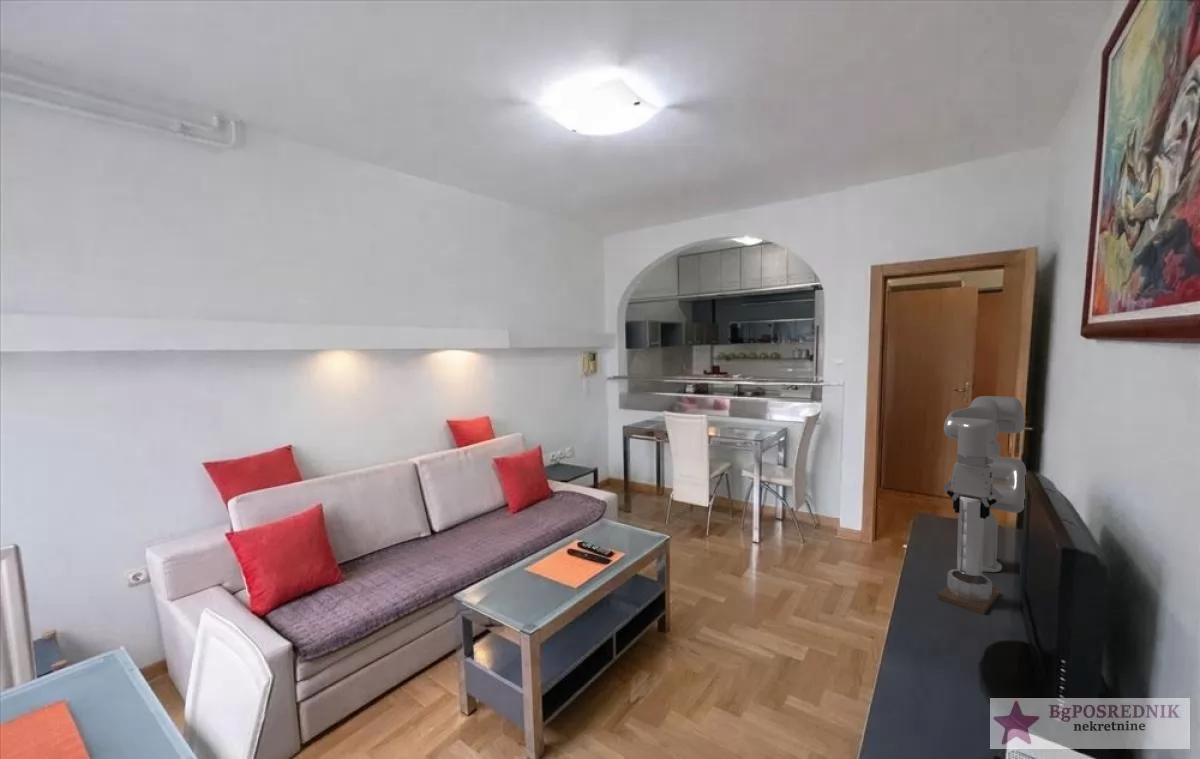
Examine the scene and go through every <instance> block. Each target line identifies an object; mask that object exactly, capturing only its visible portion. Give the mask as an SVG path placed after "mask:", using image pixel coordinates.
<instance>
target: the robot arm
mask: <svg viewBox="0 0 1200 759" xmlns="http://www.w3.org/2000/svg"><path fill="white" fill-rule="evenodd" d="M1025 424H1026V420H1025V410H1024V405H1023V403H1022V402H1021V401H1020V400H1019V399H1018V398H1017V397H1014V396H1013V397H1012V396H1000V395H999V396H994V395H993V396H992V395H983V396H977V397H975V398H974V399H973V400H972V401H971V403H970V404H969V407H964V408H961V409H955V410H953V411H951V412H950V413H949V414H948V415H947V417H946V419H945V421H944V424H943V433H944V434H945V436H946V437H947V438H948V439H952V440H957V461H955V463H954V465H953V469H952V475H951V480H950V481H948V482H946V483H945V484H943V485H942V486H941V488H942V490H944V491H945V492H946V493H947V494H946V495H948V496H949V497H950V498H951V500H952V503H953V504H952V509H953V510H954V513H955V514H958V503H959V497H960V495H969V496H975V497H980V498H981V499H982V501H983V503H984V506H982V518H983V519H984V531H983V568H982V572H986V573H997V572H1001V571H1002V570H1003V566H1002V565H1003V564H1001V563H1000V562H998V561H997V560H998V557H997V556H998V555H997V553H998V520H997V517H996V516H995V515H994V513H993V512H992V510H996V511H1002V512H1008V513H1016V514H1019V513H1021V512H1023V511H1024V508H1025V506H1024V499H1025V500H1026V493H1025V475H1026V476H1027V468H1026V465H1025V463H1024V462H1023V460H1021V459H1018V458H1016V457H1006V456H1001V451H1002V450H1001V449H1002V445H1001V444H1000V443H999V441H998V440H997V439H998V437H999V435H1000V433H1002V434H1005V433H1006V434H1020V433H1021V432H1022V431H1023V430H1024V428H1025ZM950 487H951V488H950Z"/></svg>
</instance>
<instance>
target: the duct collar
mask: <svg viewBox="0 0 1200 759" xmlns="http://www.w3.org/2000/svg"><path fill="white" fill-rule="evenodd" d="M1000 595H1001V589H998V588H996V587H993V582H992V580H991V579H990V578H989V577H988V576H986V575H984V574H982V575H981V576H971V575H967V574H964V573H962V572H960V571H958V570H957V568H953V569H950V570H949V571H948V572H947V584H946V585H945V586H944V587H943V588H942V589H941V590H940V591H939V592H938V593H937V599H939V600H941V601H944V602H947V603H950V604H953V605H956V606H958V607H962V608H963V609H968V610H970V611H973V612H976V613H979V614H982V615H985V614H986V613H987V611H988V610H989V609H990V608H991V606H992V605H993V604H994V603H995V602H996V600H997V598H998V597H999V596H1000Z"/></svg>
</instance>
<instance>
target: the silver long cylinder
mask: <svg viewBox="0 0 1200 759" xmlns="http://www.w3.org/2000/svg"><path fill="white" fill-rule="evenodd" d="M982 506H984V503H983V501H982V499H981V498H980V497H975V496H969V495H962V494H961V495H960V497H959V503H958V513H957V546H956V547H957V551H956V552H957V553H956V554H957V555H956V556H957V558H956V569H957V570H958V571H960V572H962V573H964V574H967V575H971V576H981V575H983V571H982V568H983V531H984V519H983V518H982Z"/></svg>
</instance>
